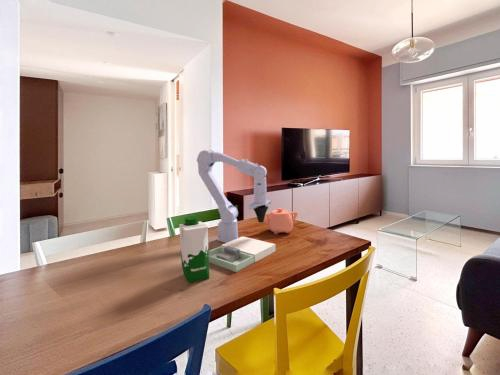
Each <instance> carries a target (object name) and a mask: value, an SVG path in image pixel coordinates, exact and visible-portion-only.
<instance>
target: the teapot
mask: <svg viewBox="0 0 500 375" xmlns="http://www.w3.org/2000/svg"><path fill="white" fill-rule="evenodd" d="M298 214H299V213H298V212H297V211H289V210H287V209H284V208H282V207H278V208H277V209H273V210H271V211H270V214H269V216H268V218H267V213H266V214H265V217H264V221H263V223H264V224H265V225H267V227H268V229H269V231H271V232H273V235H278V234H279V233H285V234H290V232H292V230H293V228H294V222H295V220H296V219H297V217H298ZM291 215H293V217H292V216H291Z"/></svg>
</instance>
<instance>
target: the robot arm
mask: <svg viewBox="0 0 500 375" xmlns="http://www.w3.org/2000/svg"><path fill="white" fill-rule="evenodd" d="M196 162H197V168H198V169H197V170H198V175H199V177H200V179H201V180H202V181H203V183H204V185H205V187H206V189H207V190H208V192H209V194H210V195H211V197H212V198H213V201H214V202H215V204H216V205H217V208H218V209H217V210H218V213H219V216H220V217H219V218H220V221H219V223H218V224H217V239H216V241H218V242H223V243H224V244H225V243H228V242H230V241H233V240H235V239H238V238H239V229H238V219H237V217H238V216H239V211H238V208H237V207H235V206H234V205H233V203H231V201H229V200H228V199H227V197H226V195H225V193H224V192H223V190H222V188H221V187H220V185H219V184H218V182H217V180H216V178H215V177H214V174H212V169H213V166H214V164H215V163H218V162H220V163H222V164H226V165H230V166H232V167H235V168H236V169H237V171H238V172H241V173H243V174H245V175H248V176H250V177H253V202H251V203H250V204H248V209H249V210H253V211H254V214H255V215H256V218H257V221H258V223H264V217H265V214H266V215H267V211H268V209H269V206H268V205H271V204H272V200H271V199H267V198H268V197H267V191H268V190H267V177H266V176H267V174H268V172H267V171H268V170H267V168H266V167H265V166H263V165H261V164H260V165H259V163H258V162H256V163H254V162H251V161H249V159H247V158H245V159H243V158H241V160H238V159H236V158H234V157H231V156H230V155H227V154H224V153H222V152H219V151H215V150H212V149H211V150H209V149H208V150H205V149H204V150H201V151H200V152H199V153H198V155H197V158H196Z"/></svg>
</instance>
